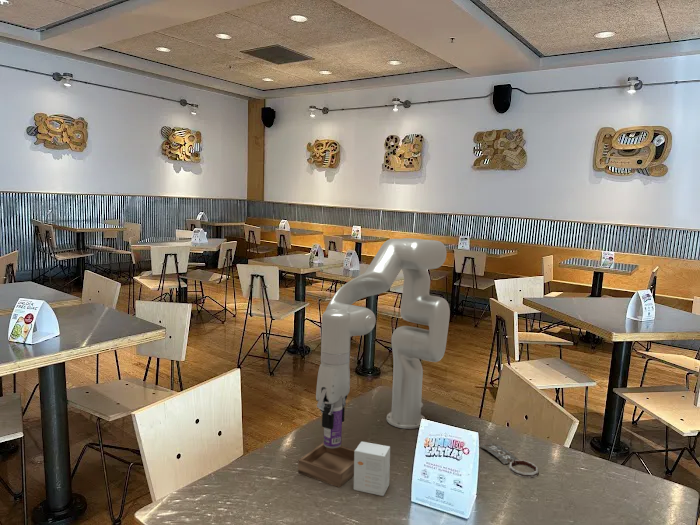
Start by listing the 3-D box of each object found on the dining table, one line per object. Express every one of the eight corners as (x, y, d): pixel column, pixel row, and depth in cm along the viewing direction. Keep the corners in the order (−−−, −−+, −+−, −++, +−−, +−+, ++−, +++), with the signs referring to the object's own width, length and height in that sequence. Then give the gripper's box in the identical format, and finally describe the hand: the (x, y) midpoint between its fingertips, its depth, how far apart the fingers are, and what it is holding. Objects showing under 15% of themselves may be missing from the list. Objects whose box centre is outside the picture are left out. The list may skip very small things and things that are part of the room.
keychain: (497, 444, 157) (497, 438, 157) (544, 476, 140) (545, 469, 140) (476, 449, 154) (476, 442, 154) (522, 482, 137) (522, 474, 136)
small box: (389, 485, 132) (391, 446, 131) (383, 497, 127) (385, 456, 126) (359, 478, 135) (361, 440, 133) (352, 490, 130) (354, 450, 128)
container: (342, 441, 140) (343, 387, 139) (340, 449, 136) (341, 393, 134) (324, 439, 141) (326, 386, 139) (322, 447, 136) (323, 392, 134)
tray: (324, 452, 148) (325, 440, 148) (365, 465, 142) (365, 453, 141) (298, 472, 137) (298, 460, 136) (340, 487, 130) (340, 474, 130)
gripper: (339, 347, 144) (337, 410, 147) (304, 362, 130) (302, 432, 132) (363, 352, 141) (361, 416, 143) (330, 368, 126) (327, 440, 128)
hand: (333, 423), depth 137 cm, fingers closed on container, 4 cm apart
